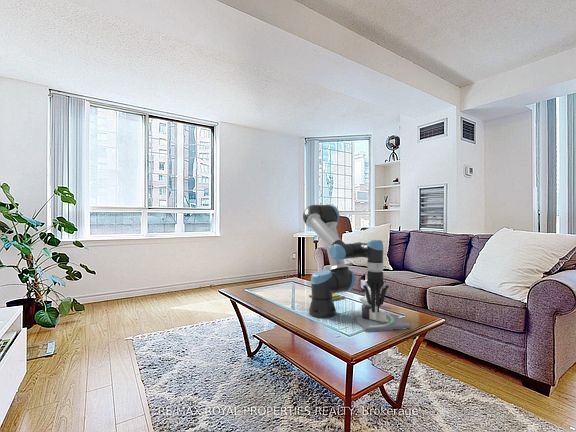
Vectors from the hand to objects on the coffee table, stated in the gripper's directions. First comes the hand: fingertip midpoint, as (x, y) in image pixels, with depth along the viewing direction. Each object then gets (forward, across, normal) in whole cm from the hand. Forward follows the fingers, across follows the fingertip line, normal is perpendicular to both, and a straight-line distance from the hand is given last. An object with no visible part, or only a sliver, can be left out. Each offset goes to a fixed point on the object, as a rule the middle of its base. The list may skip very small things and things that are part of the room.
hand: (375, 318), depth 149 cm
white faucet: (+2, +9, +36) cm, 37 cm away
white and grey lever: (+1, +1, +3) cm, 4 cm away
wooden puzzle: (+3, -12, +57) cm, 58 cm away
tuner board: (+3, +3, +2) cm, 5 cm away
